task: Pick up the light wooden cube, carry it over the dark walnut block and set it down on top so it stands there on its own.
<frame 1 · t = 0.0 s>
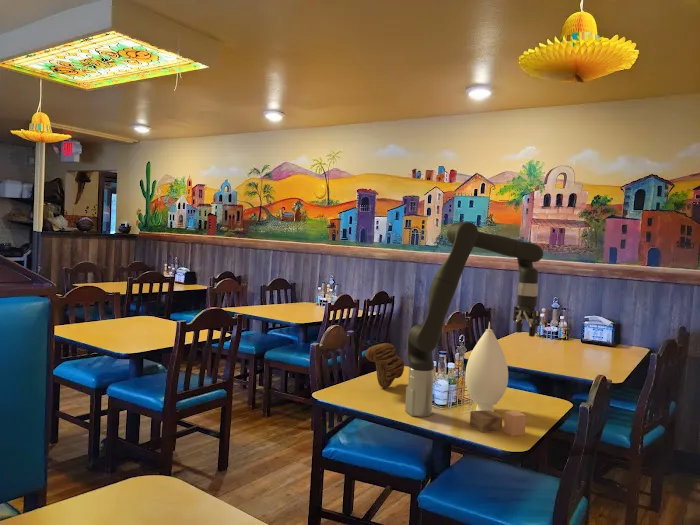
hand: (525, 334, 220), 29 cm above the table, tool pointing down, fingers open, 8 cm apart
light wooden cube: (514, 433, 190), on the table
sculpture: (383, 389, 239), on the table
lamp: (484, 411, 214), on the table
walnut block: (485, 428, 195), on the table
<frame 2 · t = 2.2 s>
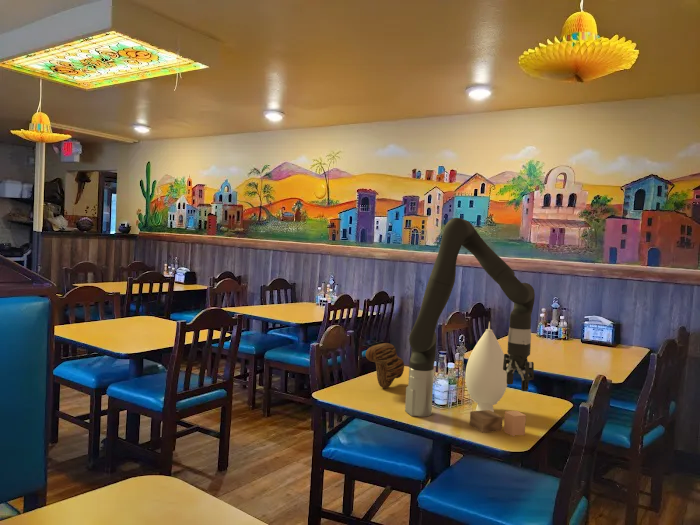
hand: (517, 387, 189), 16 cm above the table, tool pointing down, fingers open, 8 cm apart
nothing on the table moved.
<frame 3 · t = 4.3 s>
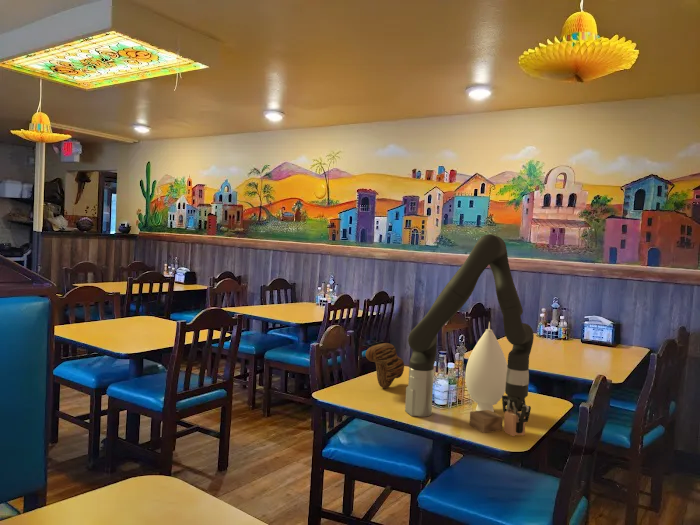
hand: (514, 429, 190), 1 cm above the table, tool pointing down, fingers closed on light wooden cube, 5 cm apart
light wooden cube: (514, 433, 190), on the table, touching gripper
everything else where it was.
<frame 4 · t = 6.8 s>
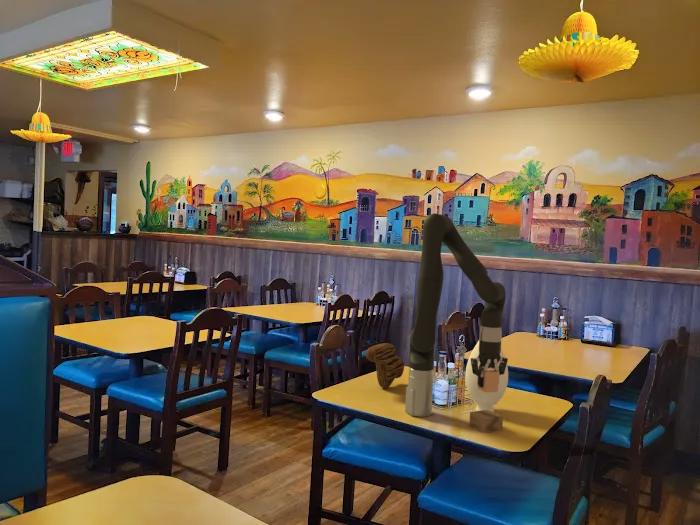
hand: (487, 386, 194), 15 cm above the table, tool pointing down, fingers closed on light wooden cube, 5 cm apart
light wooden cube: (487, 390, 194), point 13 cm above the table, touching gripper
everything else where it was.
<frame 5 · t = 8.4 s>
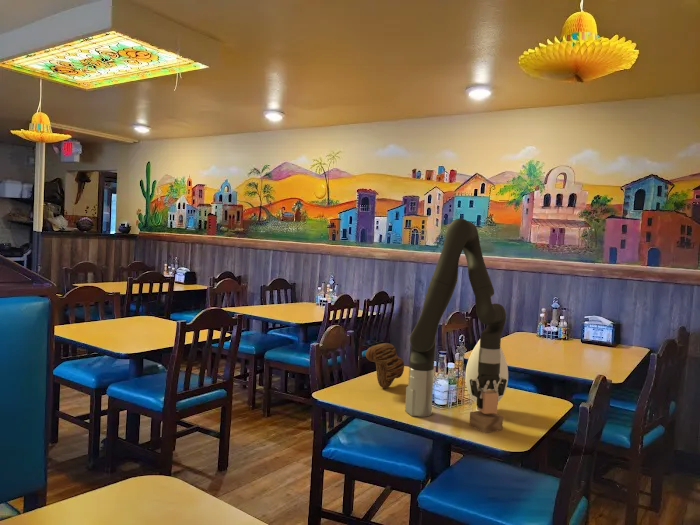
hand: (486, 407, 194), 7 cm above the table, tool pointing down, fingers closed on light wooden cube, 5 cm apart
light wooden cube: (486, 411, 194), point 6 cm above the table, touching gripper
everything else where it was.
when the fingers open (7 cm above the table, at t = 9.3 s): light wooden cube stays where it is, resting on walnut block.
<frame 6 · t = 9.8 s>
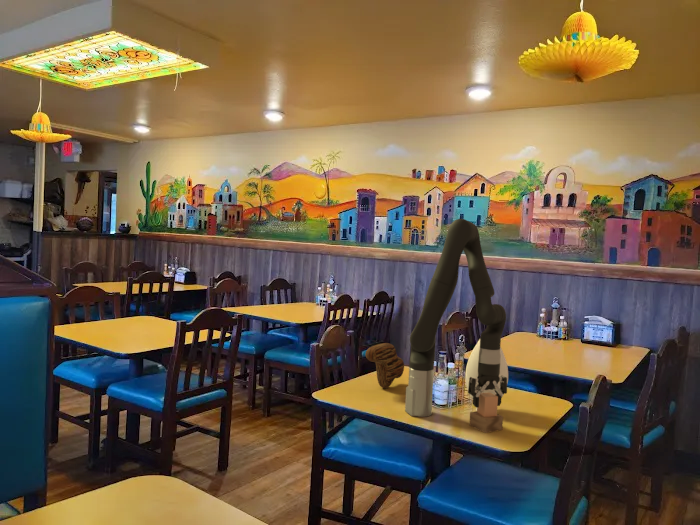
hand: (486, 406, 194), 8 cm above the table, tool pointing down, fingers open, 8 cm apart
light wooden cube: (486, 414, 195), point 5 cm above the table, touching walnut block
walnut block: (485, 428, 195), on the table, touching light wooden cube
everything else where it was.
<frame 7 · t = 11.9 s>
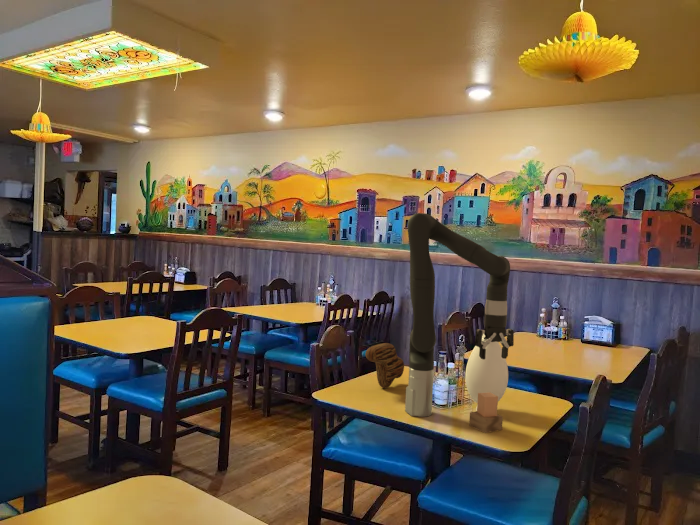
hand: (493, 358, 193), 25 cm above the table, tool pointing down, fingers open, 8 cm apart
nothing on the table moved.
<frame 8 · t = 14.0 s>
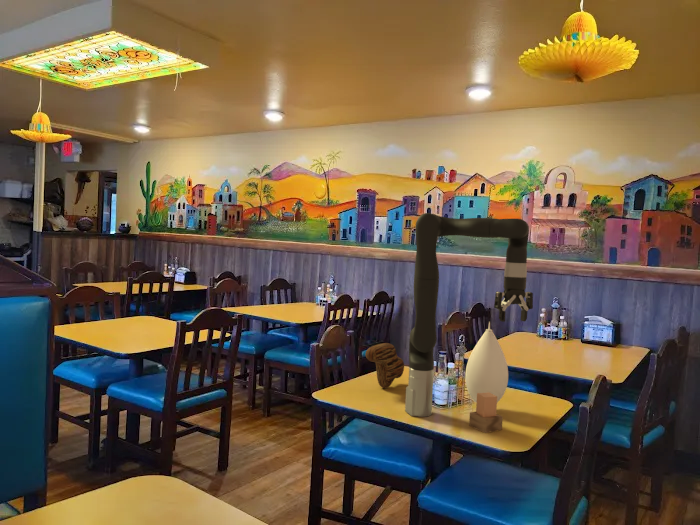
hand: (512, 321, 194), 38 cm above the table, tool pointing down, fingers open, 8 cm apart
nothing on the table moved.
at the end: light wooden cube 0.2 cm off-centre on the walnut block, point 5.0 cm above the walnut block's base; light wooden cube tilted 0°; the gripper is holding nothing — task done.
